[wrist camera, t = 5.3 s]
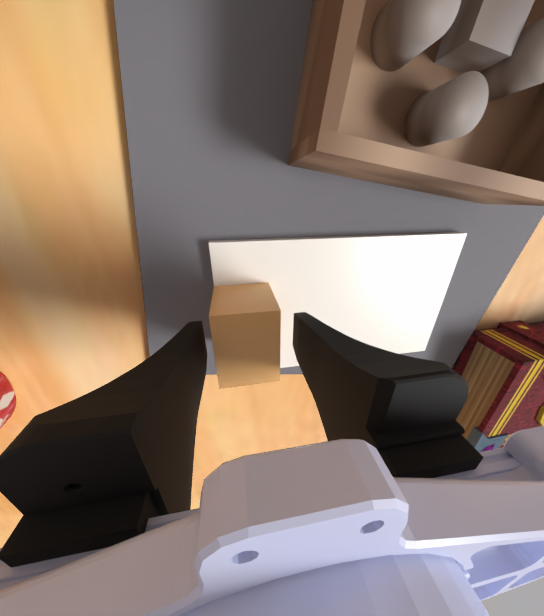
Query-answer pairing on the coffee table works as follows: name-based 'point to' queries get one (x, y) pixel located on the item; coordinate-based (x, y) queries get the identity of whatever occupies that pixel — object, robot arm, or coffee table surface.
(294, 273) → the lid
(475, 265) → the mat
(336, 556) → the robot arm
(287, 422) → the coffee table surface
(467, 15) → the tub
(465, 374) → the decorative book
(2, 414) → the mug
